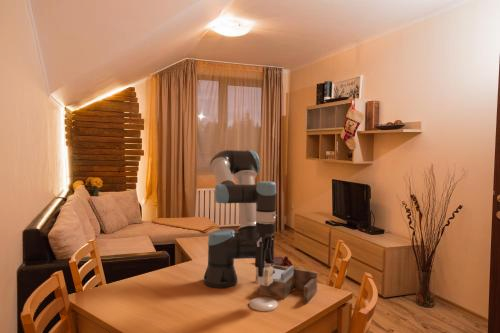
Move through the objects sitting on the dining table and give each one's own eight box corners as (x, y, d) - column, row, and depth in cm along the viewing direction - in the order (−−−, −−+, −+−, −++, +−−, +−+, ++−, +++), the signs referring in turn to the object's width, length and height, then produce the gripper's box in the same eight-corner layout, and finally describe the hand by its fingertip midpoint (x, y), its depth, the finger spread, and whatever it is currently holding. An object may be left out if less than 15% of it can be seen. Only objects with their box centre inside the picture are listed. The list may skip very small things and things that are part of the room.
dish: (244, 307, 139) (244, 305, 139) (256, 297, 149) (256, 295, 149) (271, 313, 134) (271, 311, 134) (282, 302, 144) (282, 300, 144)
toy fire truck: (295, 280, 169) (296, 258, 169) (269, 281, 167) (269, 259, 167) (291, 275, 176) (292, 254, 175) (266, 276, 174) (266, 254, 174)
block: (255, 283, 140) (256, 268, 140) (261, 279, 144) (261, 264, 144) (267, 286, 138) (268, 270, 137) (272, 282, 142) (273, 266, 142)
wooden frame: (259, 293, 153) (260, 273, 152) (272, 283, 165) (273, 264, 165) (307, 303, 144) (307, 282, 143) (317, 291, 156) (317, 272, 156)
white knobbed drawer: (261, 278, 152) (261, 270, 152) (272, 270, 163) (272, 262, 163) (283, 282, 148) (284, 274, 148) (294, 273, 159) (294, 265, 159)
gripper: (265, 227, 130) (263, 291, 131) (283, 219, 147) (281, 276, 147) (246, 224, 134) (244, 287, 135) (266, 217, 150) (264, 273, 151)
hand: (264, 282), depth 141 cm, fingers closed on block, 5 cm apart
